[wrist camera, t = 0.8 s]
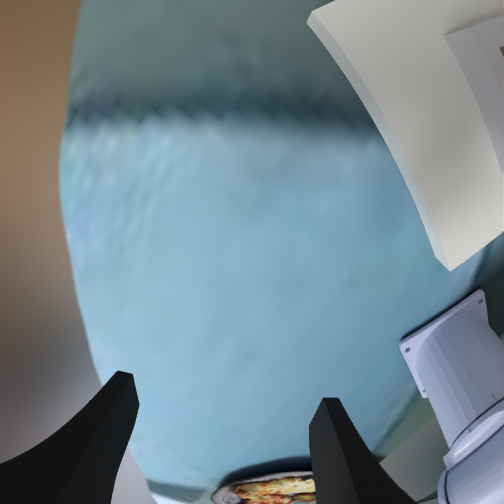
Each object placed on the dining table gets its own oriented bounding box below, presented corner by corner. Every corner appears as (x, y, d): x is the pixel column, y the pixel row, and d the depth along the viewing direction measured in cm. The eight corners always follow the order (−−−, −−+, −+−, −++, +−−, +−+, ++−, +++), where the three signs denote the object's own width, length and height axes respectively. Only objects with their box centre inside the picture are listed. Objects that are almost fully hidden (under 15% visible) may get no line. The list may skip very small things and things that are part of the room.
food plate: (205, 504, 38) (204, 520, 35) (222, 451, 28) (220, 478, 25) (342, 504, 40) (344, 519, 37) (411, 447, 30) (418, 467, 27)
